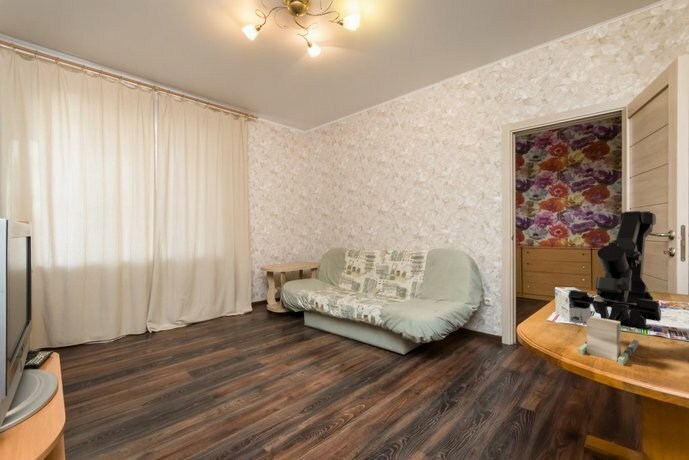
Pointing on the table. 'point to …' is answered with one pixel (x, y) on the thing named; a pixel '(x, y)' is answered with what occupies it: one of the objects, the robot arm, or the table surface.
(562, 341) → the table surface
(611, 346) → the cream block
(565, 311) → the light bulb box
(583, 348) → the channel
